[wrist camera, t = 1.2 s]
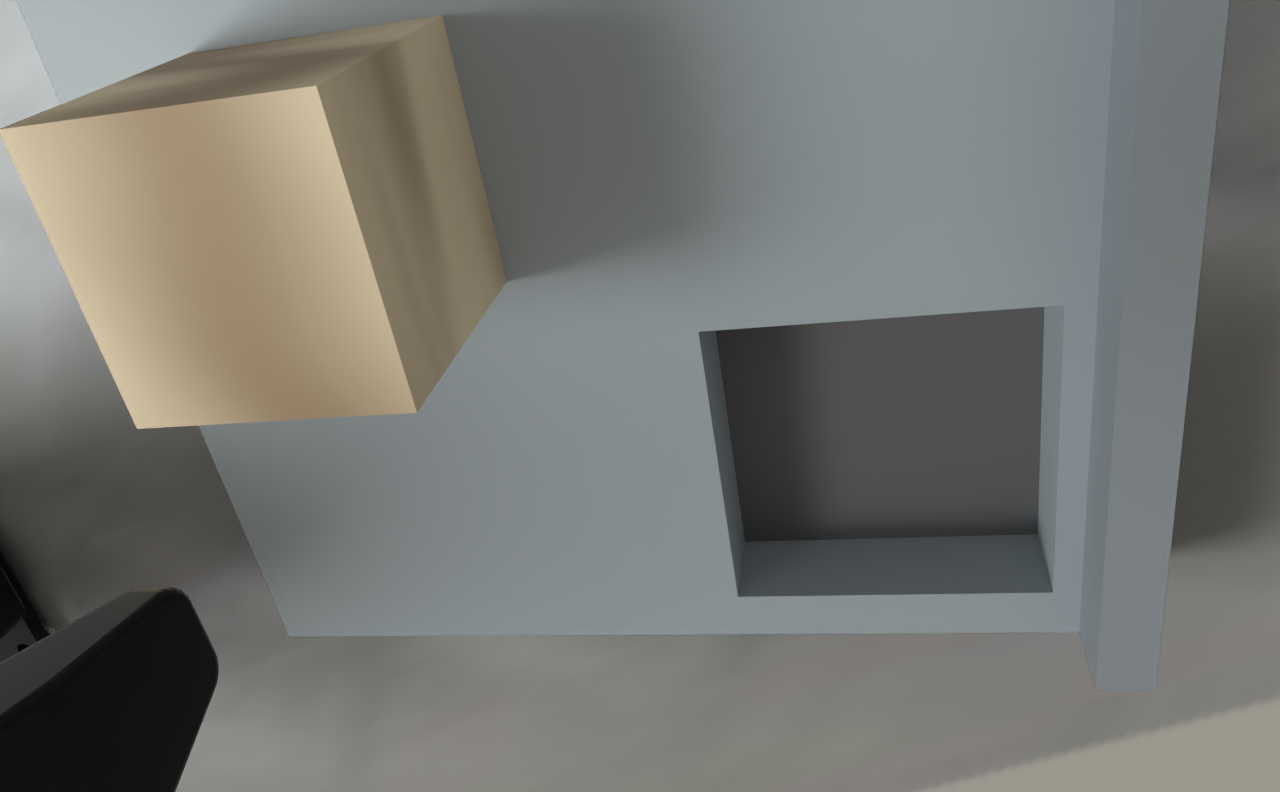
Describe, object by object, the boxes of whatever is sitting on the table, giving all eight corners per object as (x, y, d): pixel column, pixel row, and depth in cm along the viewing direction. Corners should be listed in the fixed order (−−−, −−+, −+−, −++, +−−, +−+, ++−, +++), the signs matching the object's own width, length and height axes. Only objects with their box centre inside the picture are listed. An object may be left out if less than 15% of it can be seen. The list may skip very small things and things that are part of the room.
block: (278, 301, 19) (137, 428, 15) (187, 53, 17) (-2, 129, 13) (506, 281, 18) (416, 412, 14) (442, 15, 16) (315, 85, 12)
